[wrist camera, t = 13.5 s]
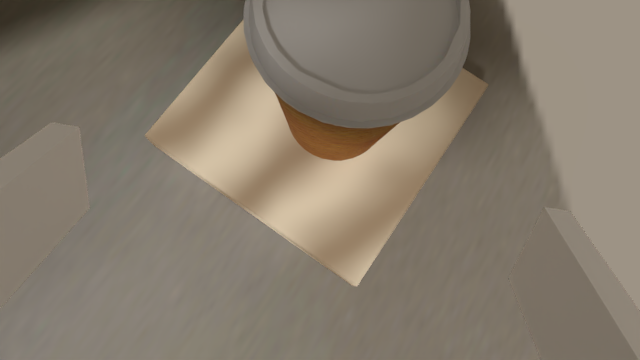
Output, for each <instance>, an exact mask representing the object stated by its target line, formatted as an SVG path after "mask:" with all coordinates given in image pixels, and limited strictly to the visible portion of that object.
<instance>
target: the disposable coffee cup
mask: <svg viewBox="0 0 640 360" xmlns="http://www.w3.org/2000/svg"><path fill="white" fill-rule="evenodd" d="M470 12H471V11H470V4H469V0H246V1H245V5H244V34H245V39H246V43H247V47H248V51H249V54H250V56H251V59H252V61H253V63H254V65H255V66H256V68H257V70H258V71H259V73H260V75H261V76H262V78H263V79H264V81H265V83H266V84H267V85H268V86H269V87H270V88H271V89H272V90H273V91H274V92H275V94H276V96H277V99H278V101H279V103H280V106H281V109H282V111H283V113H284V116H285V118H286V120H287V123H288V125H289V128H290V131H291V133H292V135H293V137H294V138H295V140H296V141H297V142H298V144H299V145H301V146H302V147H303V148H304V149H305V150H306V151H308V152H309V153H311V154H312V155H314V156H317V157H319V158H322V159H327V160H333V161H342V160H347V159H351V158H354V157H357V156H359V155H361V154H363V153H364V152H366V151H367V150H369V149H370V148H371V147H372V146H373V145H374V144H375V143H376V142H377V141H379V140H380V139H381V138H382V137H383V136H385V135H386V134H387V133H388V132H389V131H390V130H392V129H393V128H394V127H395V126H396V125H397V124H399V123H400V122H402V121H405V120H407V119H410V118H413V117H414V116H416V115H418V114H420V113H421V112H423V111H425V110H426V109H428V108H429V107H431V106H432V105H433V104H435V103H436V102H437V101H438V100H439V99H440V98H441V97H442V96H443V95H444V94H445V93H446V92H447V91H448V90H449V89H450V88H451V86H452V85H453V83H454V82H455V80H456V79H457V77H458V76H459V74H460V72H461V70H462V67H463V65H464V63H465V60H466V58H467V54H468V49H469V44H470Z"/></svg>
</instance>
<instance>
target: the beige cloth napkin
mask: <svg viewBox="0 0 640 360" xmlns="http://www.w3.org/2000/svg"><path fill="white" fill-rule="evenodd" d="M487 87H488V84H487V83H485V82H484V81H482V80H481V79H479V78H478V77H476V76H474V75H473V74H471V73H470V72H468V71H467V70H465V69H464V68H462V70H461V72H460V74H459V76H458V77H457V79H456V80H455V82H454V83H453V85H452V86H451V88H450V89H449V90H448V91H447V92H446V93H445V94H444V95H443V96H442V97H441V98H440V99H439V100H438V101H437V102H436V103H435V104H433V105H432V106H431V107H429V108H428V109H426V110H425V111H423V112H421V113H420V114H418V115H416V116H414V117H413V118H410V119H407V120H405V121H402V122H400V123H399V124H397V125H396V126H395V127H394V128H393V129H392V130H390V131H389V132H388V133H387V134H386V135H385V136H383V137H382V138H381V139H380V140H379V141H377V142H376V143H375V144H374V145H373V146H372V147H371V148H370V149H369V150H367V151H366V152H364V153H363V154H361V155H359V156H357V157H354V158H351V159H347V160H342V161H333V160H327V159H322V158H319V157H317V156H314V155H312V154H311V153H309V152H308V151H306V150H305V149H304V148H303V147H302V146H301V145H299V144H298V142H297V141H296V140H295V138H294V137H293V135H292V133H291V131H290V128H289V125H288V123H287V120H286V118H285V116H284V113H283V111H282V109H281V106H280V103H279V101H278V99H277V96H276V94H275V92H274V91H273V90H272V89H271V88H270V87H269V86H268V85H267V84H266V83H265V81H264V79H263V78H262V76H261V75H260V73H259V71H258V70H257V68H256V66H255V65H254V63H253V61H252V59H251V56H250V54H249V51H248V47H247V43H246V39H245V34H244V19H243V20H242V21H241V23H240V24H239V25H238V26H237V27H236V29H235V30H234V31H233V32H232V33H231V34H230V36H229V37H228V38H227V39H226V40H225V41H224V43H223V44H222V45H221V46H220V47H219V49H218V50H217V51H216V52H215V53H214V54H213V56H212V57H211V58H210V59H209V60H208V61H207V63H206V64H205V65H204V66H203V67H202V69H201V70H200V71H199V72H198V73H197V74H196V76H195V77H194V78H193V79H192V80H191V81H190V83H189V84H188V85H187V86H186V87H185V89H184V90H183V91H182V92H181V93H180V94H179V96H178V97H177V98H176V99H175V100H174V101H173V103H172V104H171V105H170V106H169V107H168V109H167V110H166V111H165V112H164V113H163V114H162V116H161V117H160V118H159V119H158V120H157V121H156V123H155V124H154V125H153V126H152V127H151V129H150V130H149V131H148V132H147V133H146V134H145V137H146V138H147V139H148V140H149V141H150V142H151V143H152V144H153V145H154V146H156V147H157V148H158V149H160V150H161V151H163V152H164V153H165V154H167V155H168V156H170V157H171V158H173V159H174V160H175V161H177V162H178V163H180V164H181V165H182V166H184V167H185V168H187V169H188V170H189V171H191V172H192V173H194V174H195V175H197V176H198V177H199V178H201V179H202V180H204V181H205V182H206V183H208V184H209V185H211V186H212V187H213V188H215V189H216V190H218V191H219V192H221V193H222V194H223V195H225V196H226V197H228V198H229V199H230V200H232V201H233V202H235V203H236V204H237V205H239V206H240V207H242V208H243V209H245V210H246V211H247V212H249V213H250V214H252V215H253V216H254V217H256V218H257V219H259V220H260V221H261V222H263V223H264V224H266V225H267V226H268V227H270V228H271V229H273V230H274V231H276V232H277V233H278V234H280V235H281V236H283V237H284V238H285V239H287V240H288V241H290V242H291V243H292V244H294V245H295V246H297V247H298V248H300V249H301V250H302V251H304V252H305V253H307V254H308V255H309V256H311V257H312V258H314V259H315V260H316V261H318V262H319V263H321V264H322V265H324V266H325V267H326V268H328V269H329V270H331V271H332V272H333V273H335V274H336V275H338V276H339V277H340V278H342V279H343V280H345V281H346V282H348V283H349V284H350V285H352V286H357V285H358V284H359V282H360V281H361V279H362V278H363V276H364V275H365V273H366V272H367V270H368V269H369V267H370V266H371V264H372V263H373V261H374V259H375V258H376V256H377V255H378V253H379V252H380V250H381V249H382V247H383V246H384V244H385V243H386V241H387V240H388V238H389V237H390V235H391V233H392V232H393V230H394V229H395V227H396V226H397V224H398V223H399V221H400V220H401V218H402V217H403V215H404V214H405V212H406V211H407V209H408V207H409V206H410V204H411V203H412V201H413V200H414V198H415V197H416V195H417V194H418V192H419V191H420V189H421V188H422V186H423V185H424V183H425V181H426V180H427V178H428V177H429V175H430V174H431V172H432V171H433V169H434V168H435V166H436V165H437V163H438V162H439V160H440V159H441V157H442V155H443V154H444V152H445V151H446V149H447V148H448V146H449V145H450V143H451V142H452V140H453V139H454V137H455V136H456V134H457V133H458V131H459V129H460V128H461V126H462V125H463V123H464V122H465V120H466V119H467V117H468V116H469V114H470V113H471V111H472V110H473V108H474V107H475V105H476V103H477V102H478V100H479V99H480V97H481V96H482V94H483V93H484V91H485V90H486V88H487Z"/></svg>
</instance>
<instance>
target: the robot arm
mask: <svg viewBox="0 0 640 360" xmlns="http://www.w3.org/2000/svg"><path fill="white" fill-rule="evenodd" d="M89 208H90V204H89V197H88V189H87V181H86V174H85V166H84V158H83V151H82V143H81V136H80V128H79V127H77V126H71V125H65V124H59V123H54V122H51V123H50V124H48V125H47V126H46V127H44V128H43V129H41V130H40V131H38V132H37V133H36V134H34V135H33V136H31V137H30V138H29V139H27V140H26V141H24V142H23V143H21V144H20V145H19V146H17V147H16V148H14V149H13V150H12V151H10V152H9V153H7V154H6V155H4V156H3V157H2V158H0V309H1V308H2V306H3V305H4V304H5V303H6V302H7V301H8V300H9V299H10V297H11V296H12V295H13V294H14V293H15V292H16V291H17V290H18V288H19V287H20V286H21V285H22V284H23V283H24V282H25V281H26V279H27V278H28V277H29V276H30V275H31V274H32V273H33V272H34V270H35V269H36V268H37V267H38V266H39V265H40V264H41V263H42V261H43V260H44V259H45V258H46V257H47V256H48V255H49V254H50V252H51V251H52V250H53V249H54V248H55V247H56V246H57V245H58V243H59V242H60V241H61V240H62V239H63V238H64V237H65V236H66V234H67V233H68V232H69V231H70V230H71V229H72V228H73V227H74V225H75V224H76V223H77V222H78V221H79V220H80V219H81V218H82V216H83V215H84V214H85V213H86V212H87V211H88V210H89ZM508 280H509V282H510V285H511V287H512V289H513V292H514V294H515V297H516V299H517V302H518V304H519V307H520V309H521V312H522V314H523V317H524V319H525V322H526V324H527V327H528V329H529V332H530V334H531V337H532V339H533V342H534V344H535V347H536V349H537V352H538V354H539V357H540V359H541V360H640V310H639V309H638V308H637V306H636V305H635V303H634V302H633V300H632V299H631V297H630V296H629V295H628V293H627V292H626V290H625V289H624V287H623V286H622V284H621V283H620V282H619V280H618V279H617V277H616V276H615V274H614V273H613V272H612V270H611V269H610V267H609V266H608V264H607V263H606V262H605V260H604V259H603V257H602V256H601V254H600V253H599V251H598V250H597V249H596V247H595V246H594V244H593V243H592V242H591V240H590V239H589V237H588V236H587V234H586V233H585V231H584V230H583V229H582V227H581V226H580V224H579V223H578V221H577V220H576V218H575V217H574V216H573V214H572V213H571V211H566V210H560V209H554V208H548V207H544V208H543V210H542V212H541V214H540V216H539V218H538V220H537V222H536V224H535V226H534V228H533V230H532V232H531V234H530V236H529V238H528V240H527V242H526V244H525V246H524V248H523V250H522V252H521V254H520V256H519V258H518V260H517V262H516V264H515V266H514V267H513V269H512V271H511V273H510V275H509V277H508Z"/></svg>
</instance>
